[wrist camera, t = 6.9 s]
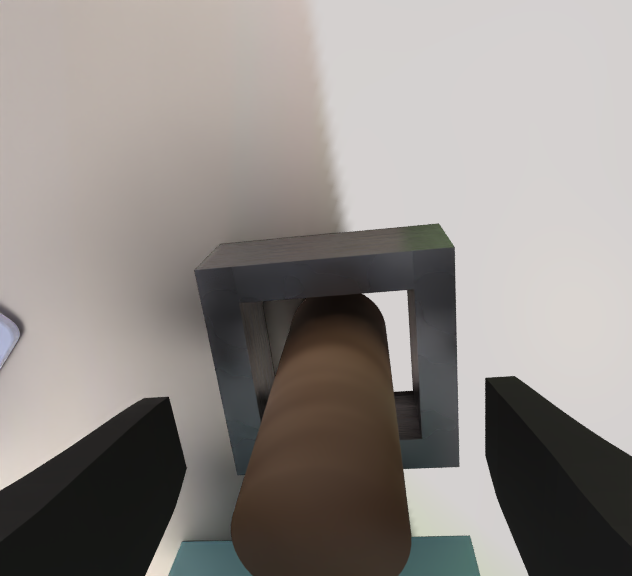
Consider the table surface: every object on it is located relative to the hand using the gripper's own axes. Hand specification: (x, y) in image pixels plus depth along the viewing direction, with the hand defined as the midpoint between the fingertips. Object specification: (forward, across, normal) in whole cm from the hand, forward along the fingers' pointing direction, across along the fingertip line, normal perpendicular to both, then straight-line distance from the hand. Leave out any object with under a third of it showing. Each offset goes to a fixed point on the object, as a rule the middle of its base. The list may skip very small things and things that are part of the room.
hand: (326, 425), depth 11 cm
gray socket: (+5, 0, 0) cm, 5 cm away
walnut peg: (+5, 0, 0) cm, 5 cm away
